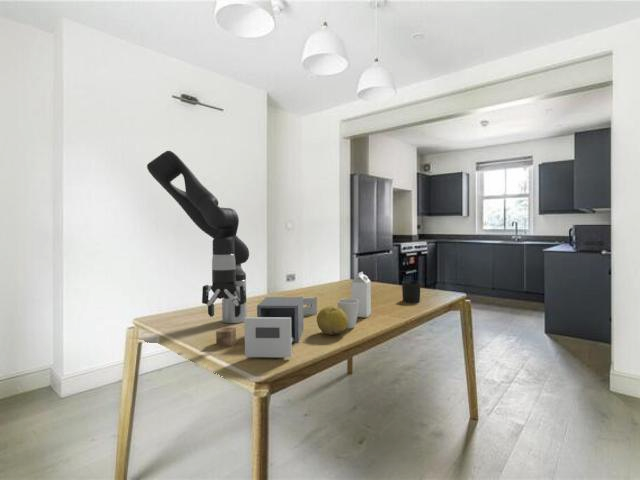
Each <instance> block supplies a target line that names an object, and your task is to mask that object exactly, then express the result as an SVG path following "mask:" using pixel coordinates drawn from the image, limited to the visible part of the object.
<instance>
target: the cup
mask: <svg viewBox="0 0 640 480" xmlns="http://www.w3.org/2000/svg"><path fill="white" fill-rule="evenodd" d="M337 308H340V309H342V310H343V311H344V313H345V314H346V315H347V317H348V326H347V327H346V329H354V328H355V326H356V323H357V321H358V320H357V319H358V317H357V314H358V300H354V299H351V298H343V299H338V300H337Z"/></svg>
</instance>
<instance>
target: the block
mask: <svg viewBox="0 0 640 480" xmlns="http://www.w3.org/2000/svg"><path fill="white" fill-rule="evenodd" d="M236 330H237V328H236V327H234V326H233V327H231V326H230V327H227V326H226V327H223V326H222V327H220V328H219V329H217V330H216V331H215V342H216V343H215V345H216V346H228V347H227V348H231V347H233V346H234V345H235V343H237V333H236V332H237V331H236ZM232 345H233V346H232Z"/></svg>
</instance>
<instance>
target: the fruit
mask: <svg viewBox="0 0 640 480" xmlns="http://www.w3.org/2000/svg"><path fill="white" fill-rule="evenodd" d="M316 315H317V316H316V323H317V326H318V328H319V330H320V331H321V332H323V333H324V334H325V335H336V334H339V333H341V332H343V331H344V330H346V329H347V328H346V327H347V326H348V317H347V315H346V314H345V313H344V311H343V310H342V309H340V308H338V307H335V306H333V305H329V306H326V307H324V308H322V309H321V310H320V311H318V312H317V314H316Z"/></svg>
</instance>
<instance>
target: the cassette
mask: <svg viewBox="0 0 640 480" xmlns="http://www.w3.org/2000/svg"><path fill="white" fill-rule="evenodd" d="M314 315H318V298H317V296H312V297H303V317H305V316H306V317H307V316H314Z"/></svg>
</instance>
